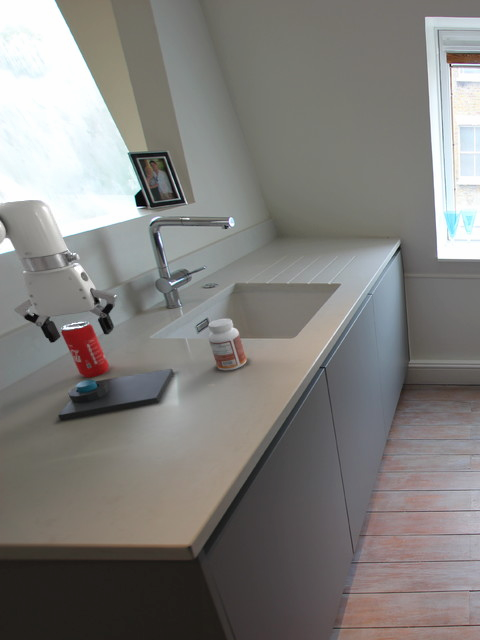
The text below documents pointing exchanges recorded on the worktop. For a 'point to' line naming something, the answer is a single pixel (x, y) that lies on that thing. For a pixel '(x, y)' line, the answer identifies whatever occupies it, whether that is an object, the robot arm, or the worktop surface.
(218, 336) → the pill bottle
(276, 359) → the worktop surface
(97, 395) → the scale
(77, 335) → the beverage can
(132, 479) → the worktop surface
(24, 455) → the worktop surface
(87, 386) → the tare button
